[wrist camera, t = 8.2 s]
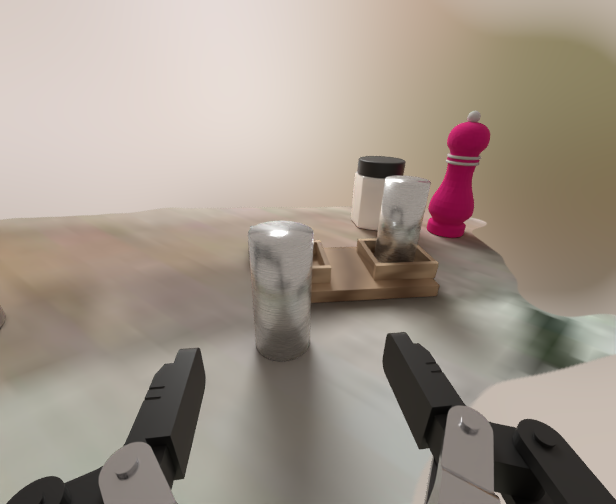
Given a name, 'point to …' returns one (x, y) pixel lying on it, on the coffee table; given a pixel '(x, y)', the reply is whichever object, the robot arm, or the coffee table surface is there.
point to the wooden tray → (369, 274)
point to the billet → (281, 287)
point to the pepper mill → (458, 179)
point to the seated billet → (401, 218)
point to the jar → (372, 188)
